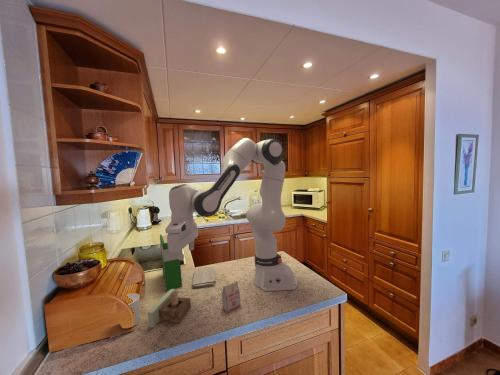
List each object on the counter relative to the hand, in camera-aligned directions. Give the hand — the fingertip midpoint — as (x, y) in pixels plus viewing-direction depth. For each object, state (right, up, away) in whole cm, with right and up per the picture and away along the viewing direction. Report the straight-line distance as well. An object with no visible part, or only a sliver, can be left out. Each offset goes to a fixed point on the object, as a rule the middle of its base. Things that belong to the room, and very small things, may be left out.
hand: (186, 254), depth 93 cm
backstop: (-9, -24, -3) cm, 25 cm away
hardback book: (-15, -22, +24) cm, 35 cm away
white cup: (-20, -25, -8) cm, 33 cm away
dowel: (-3, -22, -4) cm, 23 cm away
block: (-3, -24, -4) cm, 24 cm away
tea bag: (+19, -22, 0) cm, 30 cm away
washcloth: (+3, -22, +24) cm, 32 cm away
